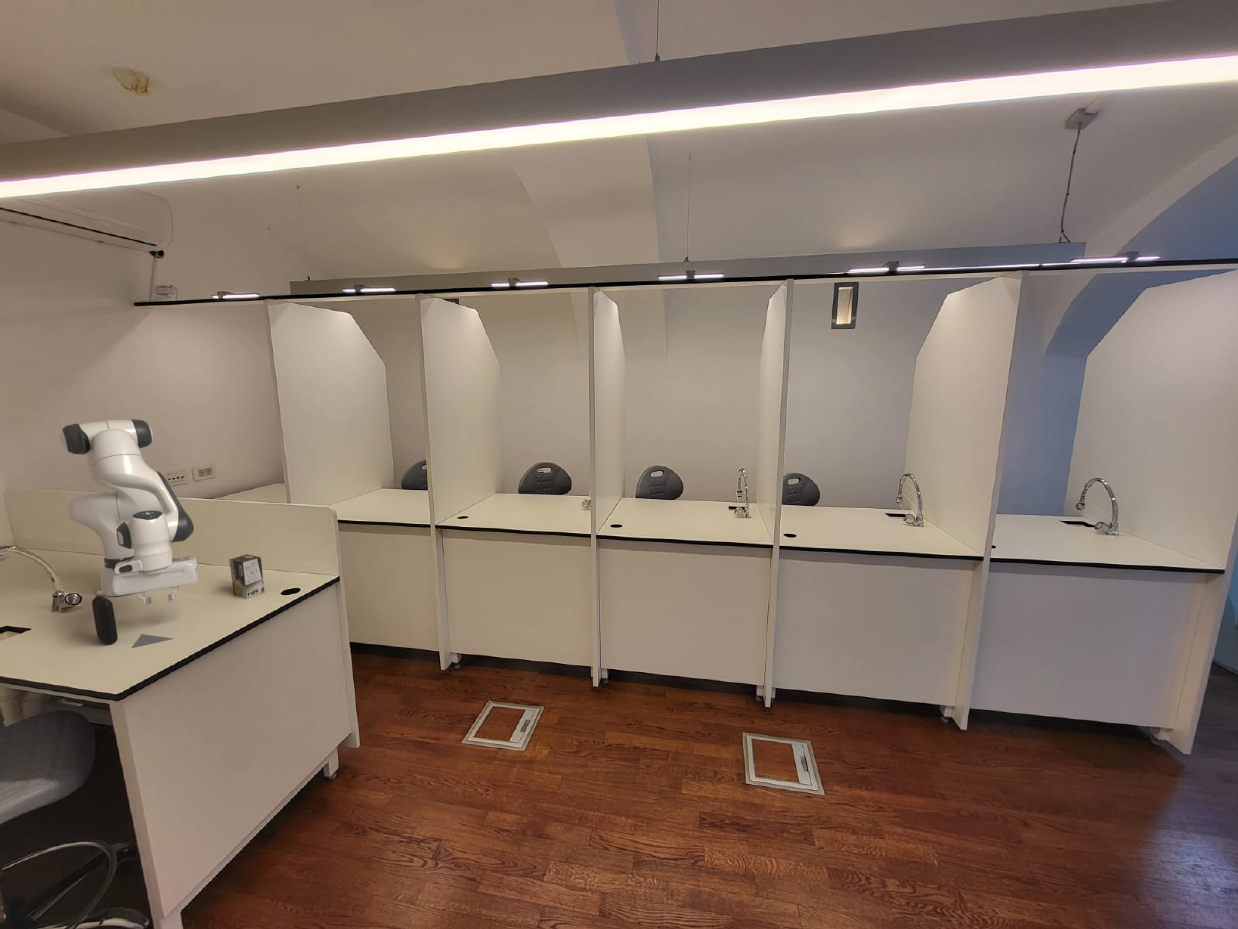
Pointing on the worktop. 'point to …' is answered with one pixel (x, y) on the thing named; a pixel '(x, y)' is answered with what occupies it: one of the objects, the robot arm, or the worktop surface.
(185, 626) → the worktop surface
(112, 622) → the carrying case or bag
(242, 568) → the coffee box
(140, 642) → the mat
